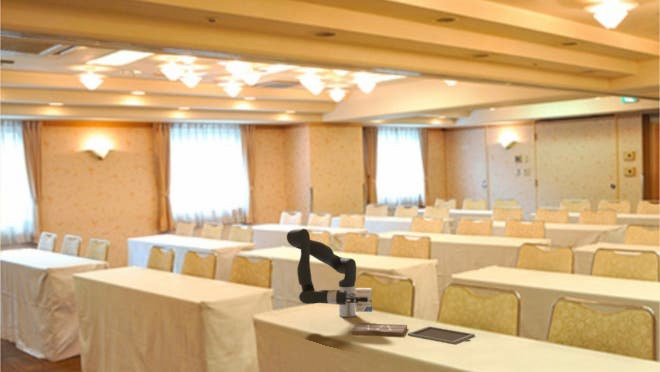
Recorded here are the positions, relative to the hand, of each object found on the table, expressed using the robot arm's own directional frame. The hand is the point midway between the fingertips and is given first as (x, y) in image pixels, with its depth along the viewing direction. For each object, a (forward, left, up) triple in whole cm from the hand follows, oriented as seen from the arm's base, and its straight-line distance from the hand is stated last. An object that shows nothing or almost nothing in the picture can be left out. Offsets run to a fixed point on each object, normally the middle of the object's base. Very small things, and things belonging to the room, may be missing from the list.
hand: (368, 298), depth 343 cm
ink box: (0, -3, -7) cm, 7 cm away
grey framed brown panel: (+4, +38, -18) cm, 43 cm away
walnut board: (0, +6, -17) cm, 18 cm away
